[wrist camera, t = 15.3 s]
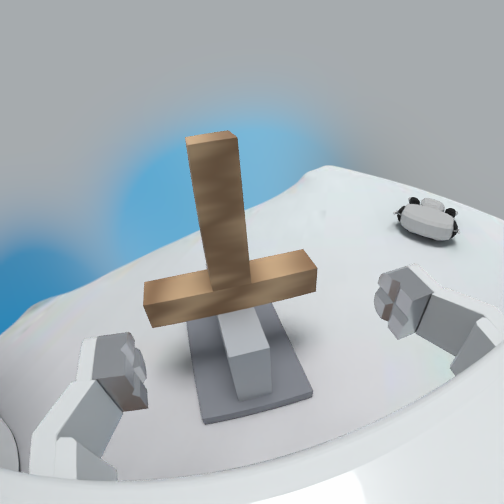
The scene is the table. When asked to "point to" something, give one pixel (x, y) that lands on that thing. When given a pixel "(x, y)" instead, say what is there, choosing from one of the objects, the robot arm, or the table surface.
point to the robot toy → (428, 219)
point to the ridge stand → (244, 364)
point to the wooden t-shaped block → (224, 247)
